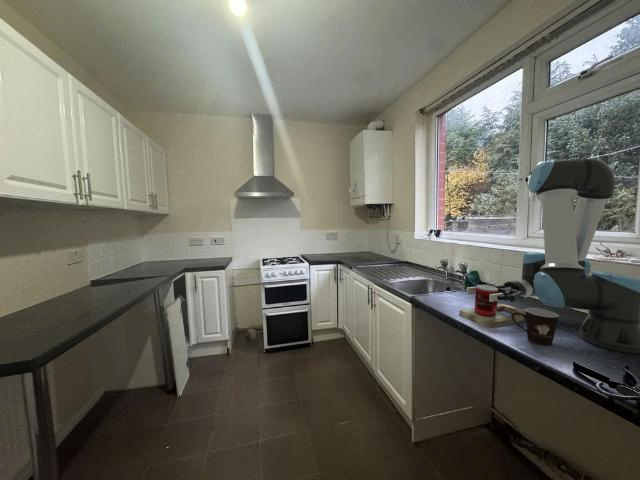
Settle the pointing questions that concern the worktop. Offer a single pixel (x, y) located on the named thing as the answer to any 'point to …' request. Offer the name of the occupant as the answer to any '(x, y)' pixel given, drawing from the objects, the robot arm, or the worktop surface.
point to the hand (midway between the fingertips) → (478, 294)
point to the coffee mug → (539, 325)
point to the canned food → (485, 300)
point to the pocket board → (498, 318)
